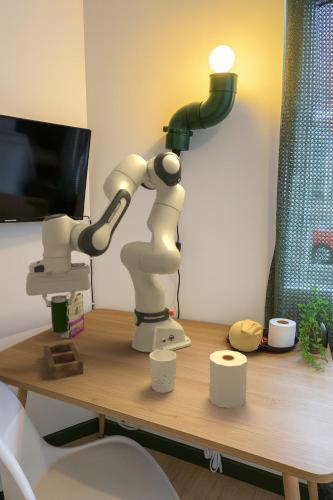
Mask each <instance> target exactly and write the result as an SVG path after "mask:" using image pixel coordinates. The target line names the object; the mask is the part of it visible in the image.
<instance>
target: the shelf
mask: <svg viewBox="0 0 333 500" xmlns="http://www.w3.org/2000/svg"><path fill="white" fill-rule="evenodd" d="M43 358H44V361H45V364H46V368H47V371H48V375H49V379H50V381H52V380H57V379H64V378H68V377H73V376H79V375H83V374H84V364H83V363H84V362H83V360H82V357H81V356H80V354H79V352H78V349H77V348H76V345H75V343H74V342H73V341H70V342H63V343H56V344H50V345H44V346H43Z"/></svg>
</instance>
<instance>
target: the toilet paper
mask: <svg viewBox="0 0 333 500" xmlns="http://www.w3.org/2000/svg"><path fill="white" fill-rule="evenodd" d="M247 366H248V359H247V356H246V355H244V354H243V353H241V352H239V351H233V350H228V349H226V350H216V351H214V352H213V353H210V354H209V394H208V395H209V396H208V397H209V401H210V402H212V404H213V405H215V406H217V407H220V408H226V409H232V408H233V409H234V408H240V407H241V406H242V404H243V405H244V404H245V403H246V402H247V375H248V374H247V368H248V367H247Z"/></svg>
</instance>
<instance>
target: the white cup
mask: <svg viewBox="0 0 333 500" xmlns="http://www.w3.org/2000/svg"><path fill="white" fill-rule="evenodd" d="M148 357H149V372H150V380H151V382H150V384H151V389H152V390H153V391H155V392H157V393H163V394H164V393H169V392H172V391H173V390H174V389H175V383H176V382H175V380H176V373H177V372H176V369H177V353H176V352H175V351H174V350H173V351H169V350H157V351H154V352H152V353H151V352H149V356H148Z"/></svg>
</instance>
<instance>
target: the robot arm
mask: <svg viewBox="0 0 333 500" xmlns="http://www.w3.org/2000/svg"><path fill="white" fill-rule="evenodd" d="M182 171H183V170H182V162H181V160H180V157H179V156H178V155H177V154H176V153H173V152H171V151H164V152H161V153H158V154H157V155H155V156H153V157H152V158H150V159H148V161H147V160H144V158H143V157H141V156H139V155H138V154H134V153H133V154H129V155H126V156H125V157H124V158H123V159H122V160H120V162H118V164H117V165H116V166H115V167H114V168H113V169H112V170H111V172H109V174H108V176H107V177H106V178H105V181H104V182H103V185H102V190H103V191H102V192H103V193H104V195H105V197H106V199H107V200H108V203H107V206H106V207H105V209H104V210H103V212H102V214H101V215H100V217H99V218H98V220H97V221H95V222H93V223H89V224H88V223H83V222H79V221H77V220H74V219H73V218H71V217H69V216H68V215H67V214H65V213H57V214H56V213H55V214H52V215H48V216H46V217H45V218H44V219H43V220H42V223H41V224H42V226H41V243H42V246H43V253H42V259H40V260H37V261H35V262H32V263H30V264H29V265H28V271H29V272H28V273H27V275H26V279H25V294H26V295H28V296H30V297H31V296H41V297H42V299H43V300H44V302H45V305H46V308H51V300H48V299H47V298H48V295H52V294H63V293H71V296H70V298H69V299H67V300H68V305H72V300H73V298H74V296H75V291H76V292H81V291H82V292H84V291H88V290H89V289H90V287H91V283H90V272H91V270H90V269H91V267H90V265H89V264H88V263H85V262H75V263H74V262H72V252H73V251H75V252H77V253H82V254H85V255H87V256H89V257H93V258H95V257H96V258H97V257H100V256H102V255H103V254H105V253H106V252H107V251H108V249H109V247H110V244H111V242H112V238H113V235H114V233H115V231H116V229H117V227H118V226H119V224H120V222H121V221H122V219H123V217H124V216H125V214H126V212H127V210H128V209H129V207H130V205H131V202H132V201H131V200H132V197H133V196H134V194H135V193H136V192H137V190H138V189H139V187H140V186H141V187H142V188H144V189H146V190H149V191H153V190H156V193H155V194H156V196H155V197H156V198H155V199H154V202H153V205H152V207H151V209H150V212H149V215H148V218H147V221H146V226H147V229H148V230H149V232H150V233H151V239H150V241H149V242H148V241H142V240H141V241H130V242H127V243H126V244H124V245H123V246H122V247H121V250H120V254H119V257H120V262H121V264H122V265H123V266H124V267H125V268H126V270H127V272H128V273H129V276H130V278H131V281H132V284H133V285H132V286H133V289H134V306H135V308H134V309H133V310H134V311H133V321H134V331H133V338H132V341H131V347H132V349H134V350H136V351H138V352H142V353H152V352H154V351H157V350H169V351H173V352H174V351H175V350H180V349H182V348H186V347H190V346H191V344H192V341H191V339H190V338H189V336H187V335H186V334H185V330H184V327H183V325H181V323H179V322H177V321H176V320H175V319H173V318H172V317H173V316H174V315H175V311H174V310H172V309H169V308H167V307H166V290H165V287H164V285H163V284H162V283H161V282H160V280H159V279H158V277H157V276H156V275H159V276H160V275H161V276H163V275H165V276H166V275H174V274H175V273H176V272H177V271H178V270H179V268H180V266H181V265H182V264H181V263H182V256H181V253H180V250H179V249H178V248H177V246H176V241H175V238H176V237H175V235H176V230H177V227H178V224H179V221H180V219H181V218H180V217H181V214H182V212H183V209H184V208H183V207H184V204H185V198H186V191H185V189H184V187H182V185H180V184H179V183H180V182H181V181H182Z"/></svg>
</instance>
